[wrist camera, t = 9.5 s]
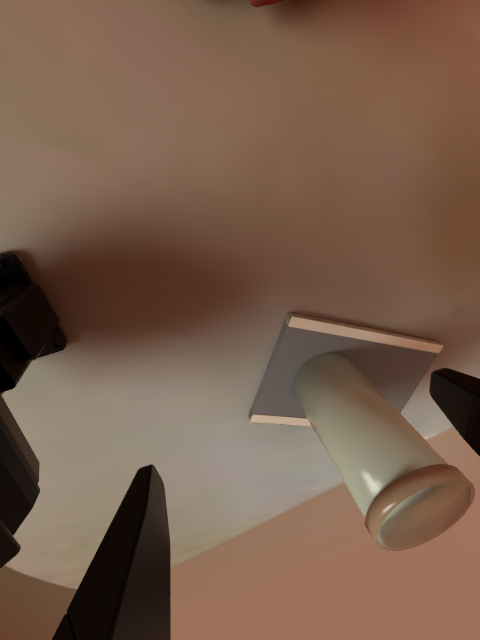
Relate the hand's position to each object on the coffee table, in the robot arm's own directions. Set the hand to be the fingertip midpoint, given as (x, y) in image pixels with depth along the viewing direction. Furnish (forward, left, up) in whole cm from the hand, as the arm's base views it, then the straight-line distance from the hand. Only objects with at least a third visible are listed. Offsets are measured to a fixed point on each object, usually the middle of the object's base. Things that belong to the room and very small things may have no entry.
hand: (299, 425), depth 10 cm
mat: (+8, -12, -13) cm, 19 cm away
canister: (+6, -11, -12) cm, 17 cm away
